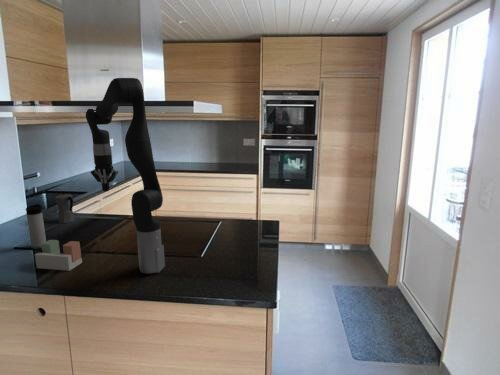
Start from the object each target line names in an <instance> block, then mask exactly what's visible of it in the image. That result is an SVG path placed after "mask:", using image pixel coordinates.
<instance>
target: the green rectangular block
mask: <svg viewBox="0 0 500 375" xmlns="http://www.w3.org/2000/svg"><path fill="white" fill-rule="evenodd" d="M41 246H42V248H41V250H42V252H41V253H52V254H61V251H60V250H61V248H60V241H59V240H58V239H49V240H46V242H44V243H42V244H41Z"/></svg>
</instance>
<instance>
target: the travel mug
mask: <svg viewBox="0 0 500 375" xmlns="http://www.w3.org/2000/svg"><path fill="white" fill-rule="evenodd" d="M25 211H26V213H25V214H26V221H27V227H28V233H29V240H30V247H31V249H33V250H38V249H42V246H41V244H42V243H44V242H46V241H47V238H46V231H45V223H44V216H43V210H42V205H40V204H39V203H37V204H36V203H35V204H34V205H29V206H27V207H26V208H25Z"/></svg>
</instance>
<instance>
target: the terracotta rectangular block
mask: <svg viewBox="0 0 500 375" xmlns="http://www.w3.org/2000/svg"><path fill="white" fill-rule="evenodd" d="M62 249H63V251H62V252H63V253H64V254H65V255H71V258H72V262H74V261H76V260H77V259H79V258H82V252H81V244H80V241H76V240H75V241H74V240H70V241H68V242H67V243H65V244H63V245H62Z"/></svg>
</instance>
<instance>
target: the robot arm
mask: <svg viewBox="0 0 500 375" xmlns="http://www.w3.org/2000/svg"><path fill="white" fill-rule="evenodd" d="M119 104H121V105H122V104H124V105H125V104H131V105H132V119H131V122H130V124H129V126H128V128H127V131H126V134H125V136H124V137H125V138H124V143H125V148H126V154H127V157H128V160H129V162H130V163H131V164H132V165H133V167H134V168H135V169H136V171H137V172H138V173H139V175H140V177H141V181H142V186H143V189H140V190H137V191H135V192H133V194H132V196H131V204H130V205H131V211H132V220H133V223H134V225H135V229H136V242H137V256H138V267H139V271H140V273H143V274H147V275H148V274H157V273H160V272H161V271H162V270H163V269H164V268H165V267H166V261H165V247H164V244H162V233H161V232H162V230H161V222H160V220H159V219H157V218H153V213H152V212H154V211H156V210H158V209H160V208H161V207H162V205H163V202H164V200H163V199H164V198H163V193H162V189H161V186H160V181H159V179H158V178H159V177H158V175H157V170H156V166H155V160H154V155H153V148H152V142H151V137H150V133H149V128H148V122H147V115H146V105H145V94H144V89H143V85H142V82H141V80H140V79H139V78H137V77H116V78H113V79H112V80H111V81H110V83H109V84H108V86H107V89H106V92H105V94H104V97H103V98H102V99H101V101H100V102H99V103H98V104H97V105H96V107H95V108H96V110H93V109H90V108H88V109H87V110H86V111H87V112H86V111H85V118H86V119H85V120H86V122H87V125H88V127H89V130H90V133H91V136H92V137H91V138H92V150H93V151H92V154H93V163H94V169H92V170H91V171H90V174H91V175H92V176H93V178H94V179H95V181H97V183H101V189H102V191H103V192H108V191H110V183H112V182H114V180H115V178H116V177H117V175H118V174H119V171H118V170H115V169H114V167H113V155H112V153H113V152H112V148H111V147H112V146H111V139H110V132H109V131H108V130H105V129H100V128H99V125H110V124H111V122H112V120H113V116H114V115H115V114H116V113H117V112H118V110H119ZM94 111H96V112H94Z"/></svg>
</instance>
